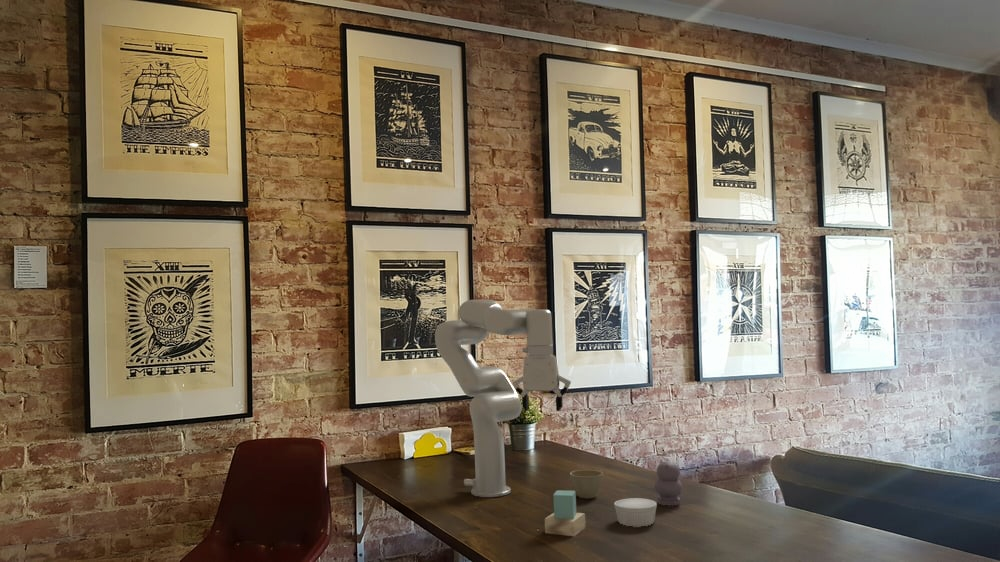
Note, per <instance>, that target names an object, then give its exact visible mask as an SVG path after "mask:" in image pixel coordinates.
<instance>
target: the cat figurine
mask: <svg viewBox="0 0 1000 562" xmlns="http://www.w3.org/2000/svg"><path fill="white" fill-rule="evenodd" d="M659 461H660V462H659V464H658V465H657V467H656V475H657V477H658V479H657V480H656V481H655V483H654V489H655V491H656V493H657V494H658V495H659V496H658V497H657V504H658V503H659V504H658V505H660V504H661V505H660V506H664V505H668V506H667V507H674V506H673V505H676V506H679V505H680V504H681V498H680V497H679V496H680V495H681V494H682V491H683V484H682V482H681V481H680V480H679V478H680V474H681V471H680V468H679V466H678V465H677V464H676V463H675V462H672V461H667V460H666V461H664V460H662V459H660V460H659ZM678 504H679V505H678ZM670 505H672V506H670Z"/></svg>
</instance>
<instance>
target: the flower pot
mask: <svg viewBox="0 0 1000 562" xmlns="http://www.w3.org/2000/svg"><path fill="white" fill-rule="evenodd" d="M603 475H604V474H603V472H602V471H600V470H593V469H581V470H580V469H579V470H578V469H577V470H573V471H570V472H569V477H570V481H571V484H572V487H573V489H574V491H575V494H576V496H577V497H579V498H580V499H595V497H596V496H597V495H598V492H599V490H600V488H601V485H602V481H603Z"/></svg>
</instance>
